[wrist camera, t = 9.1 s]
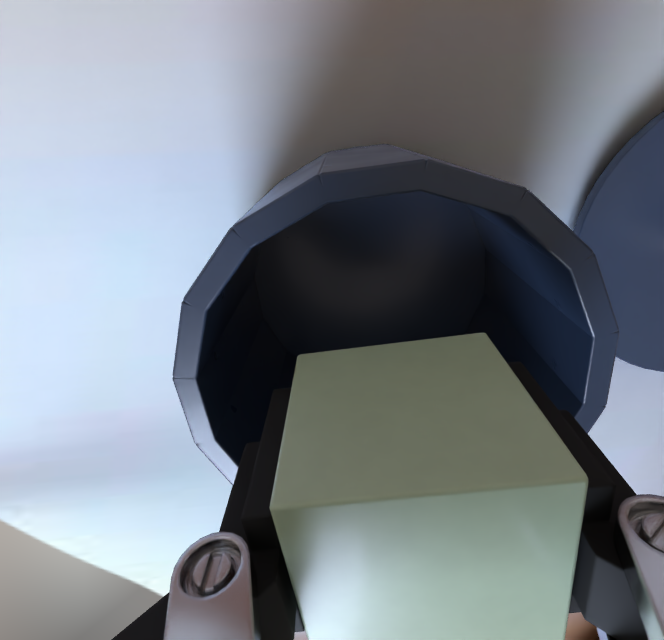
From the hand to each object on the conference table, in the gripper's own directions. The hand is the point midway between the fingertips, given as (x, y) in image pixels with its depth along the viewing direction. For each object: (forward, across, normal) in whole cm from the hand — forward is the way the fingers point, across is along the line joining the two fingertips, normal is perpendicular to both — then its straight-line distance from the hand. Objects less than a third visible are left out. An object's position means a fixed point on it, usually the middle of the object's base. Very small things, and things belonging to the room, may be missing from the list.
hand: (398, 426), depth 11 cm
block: (0, 0, 0) cm, 0 cm away
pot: (+11, 0, 0) cm, 11 cm away
